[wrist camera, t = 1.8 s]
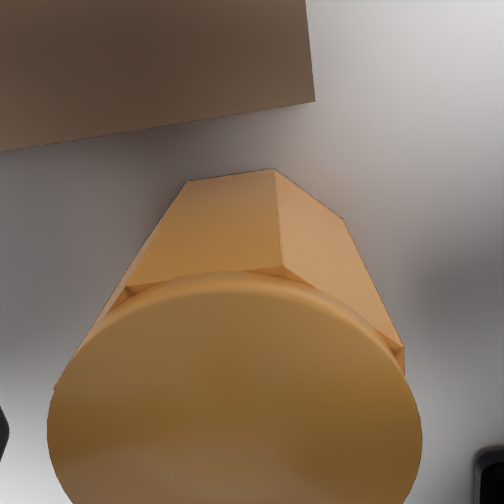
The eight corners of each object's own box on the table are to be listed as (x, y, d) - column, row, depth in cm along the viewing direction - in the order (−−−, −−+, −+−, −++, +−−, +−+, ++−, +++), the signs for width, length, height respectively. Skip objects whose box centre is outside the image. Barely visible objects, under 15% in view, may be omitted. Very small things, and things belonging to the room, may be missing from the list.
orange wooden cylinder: (354, 342, 13) (425, 564, 7) (171, 364, 13) (105, 590, 8) (339, 156, 11) (418, 265, 5) (124, 188, 11) (-11, 321, 6)
